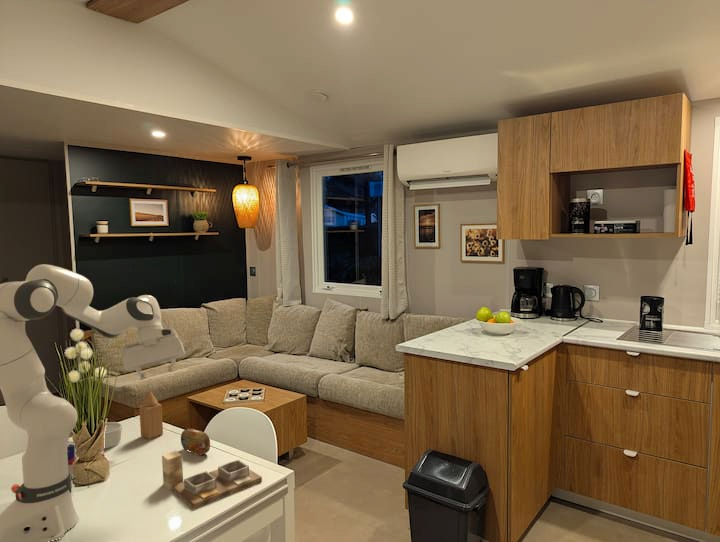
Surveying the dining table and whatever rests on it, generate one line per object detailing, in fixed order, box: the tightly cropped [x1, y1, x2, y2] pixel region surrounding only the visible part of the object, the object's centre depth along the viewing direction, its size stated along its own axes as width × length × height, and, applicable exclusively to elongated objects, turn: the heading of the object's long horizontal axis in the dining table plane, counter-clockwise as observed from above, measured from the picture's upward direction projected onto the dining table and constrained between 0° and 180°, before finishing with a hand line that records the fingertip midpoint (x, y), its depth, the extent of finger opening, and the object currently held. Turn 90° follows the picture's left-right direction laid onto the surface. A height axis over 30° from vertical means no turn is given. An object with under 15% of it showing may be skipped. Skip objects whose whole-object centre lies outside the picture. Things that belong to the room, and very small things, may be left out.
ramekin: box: [104, 421, 123, 450], centre depth 205 cm, size 13×13×7 cm
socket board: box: [171, 459, 263, 509], centre depth 168 cm, size 24×16×4 cm, turn 133°
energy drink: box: [67, 440, 78, 481], centre depth 176 cm, size 5×5×12 cm
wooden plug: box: [161, 450, 184, 490], centre depth 170 cm, size 5×5×10 cm
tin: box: [180, 428, 211, 456], centre depth 195 cm, size 15×3×8 cm, turn 55°
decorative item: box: [138, 388, 164, 440], centre depth 212 cm, size 7×7×20 cm
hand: (157, 375), depth 175 cm, fingers open, 8 cm apart
